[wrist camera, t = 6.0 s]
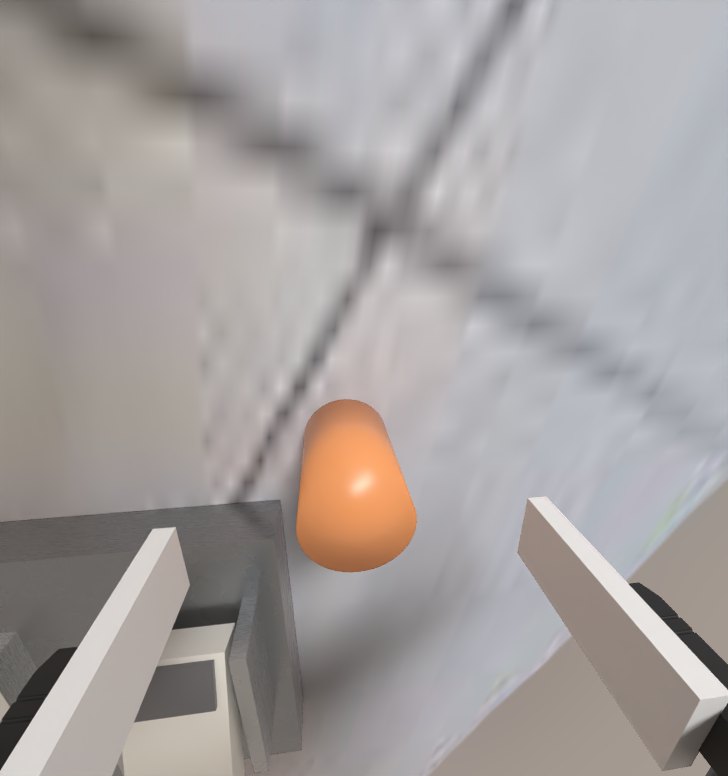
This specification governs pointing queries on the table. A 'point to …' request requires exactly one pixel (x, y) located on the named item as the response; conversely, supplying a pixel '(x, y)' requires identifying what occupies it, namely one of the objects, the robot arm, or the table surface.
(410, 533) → the cap
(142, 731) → the block
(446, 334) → the table surface
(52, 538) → the breaker panel
